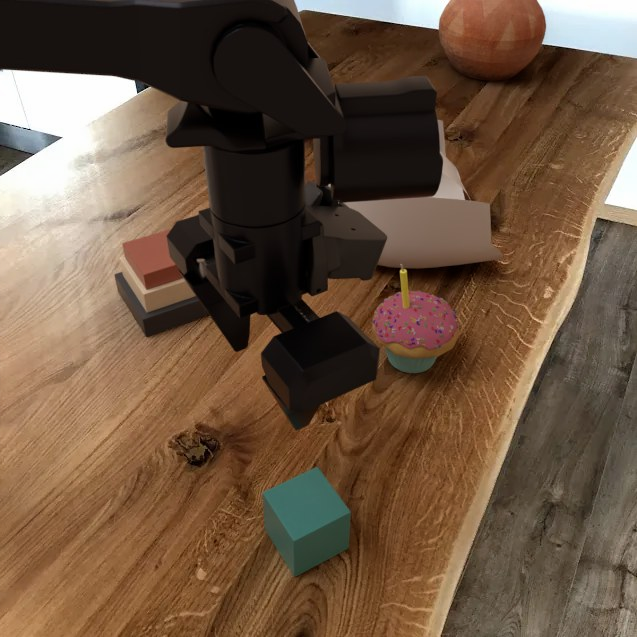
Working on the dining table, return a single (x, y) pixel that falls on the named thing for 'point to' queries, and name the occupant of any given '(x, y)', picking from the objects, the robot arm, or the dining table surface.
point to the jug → (491, 36)
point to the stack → (155, 286)
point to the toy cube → (306, 520)
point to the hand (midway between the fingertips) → (269, 385)
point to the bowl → (433, 225)
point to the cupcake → (414, 328)
